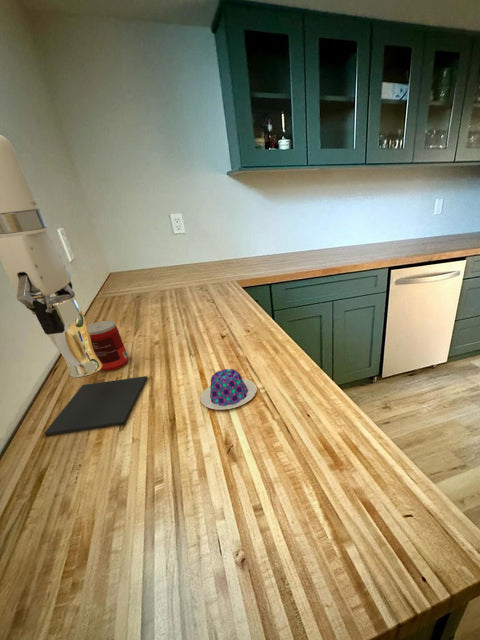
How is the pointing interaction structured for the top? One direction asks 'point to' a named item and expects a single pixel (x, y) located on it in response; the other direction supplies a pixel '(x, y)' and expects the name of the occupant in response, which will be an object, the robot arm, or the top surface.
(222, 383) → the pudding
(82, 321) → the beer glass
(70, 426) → the place mat
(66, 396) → the top surface
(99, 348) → the canned food
